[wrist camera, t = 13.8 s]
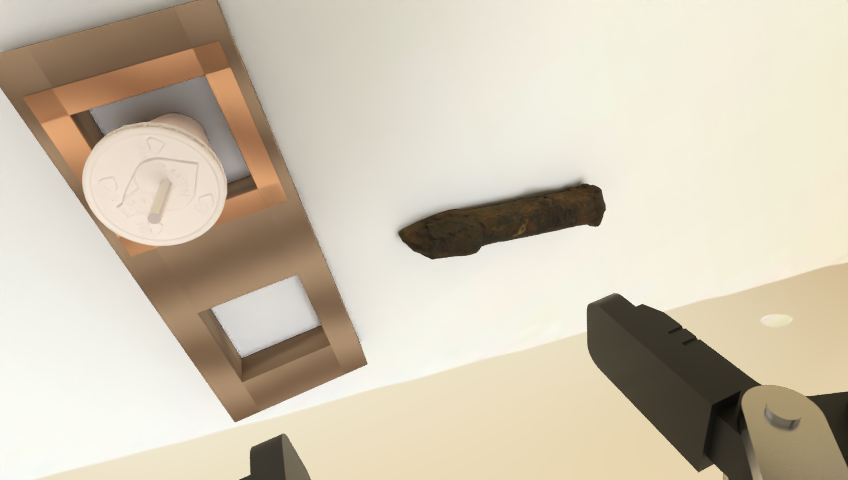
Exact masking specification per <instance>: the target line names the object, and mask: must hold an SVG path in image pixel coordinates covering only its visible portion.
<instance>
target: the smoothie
mask: <svg viewBox="0 0 848 480" xmlns="http://www.w3.org/2000/svg"><path fill="white" fill-rule="evenodd" d="M82 186H83V192H84V195H85V198H86V201H87V203H88V205H89V207H90V209H91V210H92V212H93V213H94V214H95V216H96V217H97V218H98V219H99V220H100V221H101V222H102V223H103V224H104V225H105V226H106V227H108V228H109V229H110V230H112V231H113V232H115V233H116V234H118V235H120V236H122V237H124V238H126V239H128V240H131V241H134V242H137V243H141V244H146V245H153V246H170V245H177V244H181V243H185V242H188V241H191V240H193V239H195V238H197V237H199V236H201V235H202V234H204V233H205V232H206V231H208V230H209V229H210V228H211V227H212V226H213V225H214V224H215V222H216V221H217V220H218V218H219V216H220V215H221V213H222V210H223V207H224V204H225V199H226V196H227V178H226V175H225V172H224V169H223V166H222V164H221V162H220V161H219V159H218V158H217V156H216V155H215V153H214V152H213V150H212V149H211V147H210V144H209V141H208V138H207V135H206V133H205V131H204V129H203V128H202V126H201V125H200V124H199V123H198V122H196V121H195V120H194V119H192V118H190V117H188V116H186V115H183V114H177V113H170V114H165V115H162V116H159V117H157V118H155V119H153V120H151V121H149V122H141V123H136V124H130V125H125V126H123V127H121V128H118V129H116V130H114V131H112V132H110V133H108V134H107V135H106V136H105V137H104V138H102V139H101V140H100V141H99V142H98V143H97V144H96V145H95V147H94V148H93V150H92V152H91V154H90V155H89V157H88V159H87V161H86V163H85V166H84V169H83V175H82Z"/></svg>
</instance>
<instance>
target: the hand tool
mask: <svg viewBox="0 0 848 480" xmlns="http://www.w3.org/2000/svg"><path fill="white" fill-rule="evenodd" d="M605 210H606V207H605V202H604V200H603V195H602V190H601V189H600V188H599V187H597V186H595V185H589V184H582V185H581V186H580V187H579V188H578V189H577V188H567V190H566V191H564V192H560V193H551V194H546V195H544V196H541V197H536V198H530V199H525V198H524V199H520V200H518V201H514V202H508V203H504V204H500V205H494V206H489V207H484V208H478V209H473V210H457V209H453V210H449V211H445V212H442V213H439V214H436V215H434V216H431V217H429V218H427V219H424V220H422V221H420V222H418V223H415V224H413V225H411V226H410V227H408V228H406V229H404V230H402V231H400V233H399V236H400V237H401V239H402V241H403V242H404V243H406V244H407V245H408V246H409V247H410V248H411V249H412V250H413V251H415V252H418V253H420V254H422V255H424V256H426V257H428V258H430V259H437V258H447V257H453V256H466V255H471V254H474V253H477V252H478V251H479V249H480V248H481V246H484V245H488V244H492V243H496V242H503V241H508V240H513V239H518V238H524V237H528V236H533V235H539V234H542V233H547V232H552V231H557V230H561V229H565V228H569V227H574V226H579V225H580V226H581V225H589V226H594V227H596V226H599V225H600V223H601V221H602V218H603V214H604V211H605Z"/></svg>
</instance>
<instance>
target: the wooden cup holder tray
mask: <svg viewBox="0 0 848 480" xmlns="http://www.w3.org/2000/svg"><path fill="white" fill-rule="evenodd" d="M203 75H205V76H206V78H207V80H208V82H209V84H210V87H211V89H212V91H213V93H214V95H215V97H216V99H217V102H218V104H219V106H220V108H221V110H222V112H223V115H224V117H225V119H226V121H227V123H228V125H229V127H230V130H231V132H232V134H233V136H234V138H235V140H236V143H237V145H238V147H239V149H240V151H241V153H242V155H243V158H244V160H245V162H246V164H247V166H248V168H249V171H250V173H251V175H252V176H249V177H246V178H243V179H240V180H237V181H234V182H231V183H229V184H227V196H226V199H225V204H224V207H223V210H222V213H221V215H220V216H219V218H218V220H217V221H216V222H215V224H214V225H213V226H212V227H211V228H210V229H209V230H208V231H206V232H205V233H204V234H202V235H201V236H199V237H197V238H195V239H193V240H191V241H188V242H185V243H181V244H177V245H170V246H153V245H146V244H141V243H137V242H134V241H131V240H128V239H126V238H124V237H122V236H120V235H118V234H116V233H115V232H113V231H112V230H110V229H109V228H108V227H106V226H105V225H104V224H103V223H102V222H101V221H100V220H99V219H98V218H97V217H96V216H95V214H94V213H93V212H92V210H91V209H90V207H89V205H88V203H87V201H86V198H85V195H84V192H83V186H82V175H83V169H84V166H85V163H86V161H87V159H88V157H89V155H90V154H91V152H92V150H93V148H94V147H95V145H96V144H97V143H98V142H99V141H100V140H101V139H102V138H104V135H103V134H102V132H101V130H100V129H99V127H98V125H97V124H96V122H95V121H94V119H93V117H92V116H91V114H90V112H89V111H88V110H89V109H92V108H96V107H99V106H102V105H106V104H109V103H112V102H116V101H119V100H123V99H126V98H129V97H133V96H136V95H139V94H143V93H146V92H149V91H153V90H156V89H159V88H163V87H166V86H170V85H173V84H176V83H180V82H183V81H186V80H190V79H193V78H196V77H200V76H203ZM0 88H1V89H2V90H3V92H4V93H5V95H6V96H7V98H8V99H9V100H10V102H11V103H12V105H13V106H14V108H15V109H16V110H17V112H18V113H19V115H20V116H21V118H22V119H23V120H24V122H25V123H26V125H27V126H28V128H29V129H30V130H31V132H32V133H33V135H34V136H35V138H36V139H37V140H38V142H39V143H40V145H41V146H42V148H43V149H44V150H45V152H46V153H47V155H48V156H49V158H50V159H51V160H52V162H53V163H54V165H55V166H56V168H57V169H58V170H59V172H60V173H61V175H62V176H63V178H64V179H65V180H66V182H67V183H68V185H69V186H70V188H71V189H72V190H73V192H74V193H75V195H76V196H77V198H78V199H79V200H80V202H81V203H82V205H83V206H84V208H85V209H86V210H87V212H88V213H89V215H90V216H91V218H92V219H93V220H94V222H95V223H96V225H97V226H98V227H99V229H100V230H101V232H102V233H103V235H104V236H105V237H106V239H107V240H108V242H109V243H110V245H111V246H112V247H113V249H114V250H115V252H116V253H117V255H118V256H119V257H120V259H121V260H122V262H123V263H124V265H125V266H126V267H127V269H128V270H129V272H130V273H131V275H132V276H133V277H134V279H135V280H136V282H137V283H138V285H139V286H140V287H141V289H142V290H143V292H144V293H145V295H146V296H147V297H148V299H149V300H150V302H151V303H152V305H153V306H154V307H155V309H156V310H157V312H158V313H159V315H160V316H161V317H162V319H163V320H164V322H165V323H166V325H167V326H168V327H169V329H170V330H171V332H172V333H173V335H174V336H175V337H176V339H177V340H178V342H179V343H180V345H181V346H182V347H183V349H184V350H185V352H186V353H187V355H188V356H189V357H190V359H191V360H192V362H193V363H194V365H195V366H196V367H197V369H198V370H199V372H200V373H201V375H202V376H203V377H204V379H205V380H206V382H207V383H208V385H209V386H210V387H211V389H212V390H213V392H214V393H215V395H216V396H217V397H218V399H219V400H220V402H221V403H222V405H223V406H224V407H225V409H226V410H227V412H228V413H229V415H230V416H231V417H232V419H233V420H234V422H237V421H240V420H242V419H244V418H246V417H249V416H251V415H253V414H256V413H258V412H260V411H262V410H265V409H267V408H269V407H271V406H274V405H276V404H278V403H281V402H283V401H285V400H287V399H290V398H292V397H294V396H296V395H299V394H301V393H303V392H306V391H308V390H310V389H312V388H315V387H317V386H319V385H321V384H324V383H326V382H328V381H331V380H333V379H335V378H337V377H340V376H342V375H344V374H346V373H349V372H351V371H353V370H356V369H358V368H360V367H362V366H365V365H367V361H366V358H365V356H364V353H363V350H362V347H361V344H360V342H359V340H358V337H357V335H356V332H355V330H354V327H353V325H352V323H351V320H350V318H349V315H348V313H347V311H346V308H345V306H344V303H343V301H342V299H341V296H340V294H339V291H338V289H337V287H336V284H335V282H334V279H333V277H332V275H331V272H330V270H329V267H328V265H327V263H326V260H325V258H324V255H323V253H322V251H321V248H320V246H319V243H318V241H317V239H316V236H315V234H314V231H313V229H312V227H311V224H310V222H309V219H308V217H307V215H306V212H305V210H304V207H303V205H302V203H301V200H300V198H299V195H298V193H297V191H296V188H295V186H294V183H293V181H292V179H291V176H290V174H289V171H288V169H287V167H286V164H285V162H284V159H283V157H282V155H281V152H280V150H279V147H278V145H277V143H276V140H275V138H274V135H273V133H272V131H271V128H270V126H269V123H268V121H267V119H266V116H265V114H264V111H263V109H262V107H261V104H260V102H259V99H258V97H257V95H256V92H255V90H254V87H253V85H252V83H251V80H250V78H249V75H248V73H247V70H246V68H245V66H244V63H243V61H242V58H241V56H240V54H239V51H238V49H237V46H236V44H235V42H234V39H233V37H232V34H231V32H230V30H229V27H228V25H227V22H226V20H225V18H224V15H223V13H222V10H221V8H220V6H219V3H218V1H217V0H197V1H193V2H189V3H185V4H182V5H178V6H174V7H170V8H167V9H163V10H159V11H155V12H152V13H148V14H144V15H140V16H137V17H133V18H129V19H126V20H122V21H118V22H114V23H111V24H107V25H103V26H99V27H96V28H92V29H88V30H84V31H81V32H77V33H73V34H70V35H66V36H62V37H58V38H55V39H51V40H47V41H43V42H40V43H36V44H32V45H28V46H25V47H21V48H17V49H13V50H10V51H6V52H2V53H0ZM296 274H298V275H299V278H300V280H301V282H302V284H303V286H304V288H305V291H306V293H307V295H308V297H309V299H310V301H311V303H312V306H313V308H314V310H315V312H316V314H317V316H318V319H319V321H320V323H321V325H322V326H319V327H317V328H314V329H312V330H310V331H307V332H305V333H302V334H300V335H298V336H295V337H293V338H290V339H288V340H285V341H283V342H281V343H278V344H276V345H273V346H271V347H269V348H266V349H264V350H261V351H259V352H257V353H254V354H252V355H249V356H247V357H245V358H242V359H241V357H240V355H239V354H238V352H237V350H236V349H235V347H234V346H233V344H232V342H231V341H230V339H229V338H228V336H227V334H226V333H225V331H224V329H223V328H222V326H221V325H220V323H219V321H218V320H217V318H216V316H215V315H214V313H213V312H212V310H211V308H212V307H214V306H217V305H220V304H222V303H225V302H227V301H230V300H232V299H235V298H238V297H240V296H243V295H245V294H248V293H250V292H253V291H255V290H258V289H261V288H263V287H266V286H268V285H271V284H273V283H276V282H279V281H281V280H284V279H286V278H289V277H291V276H294V275H296Z"/></svg>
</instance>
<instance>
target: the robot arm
mask: <svg viewBox="0 0 848 480" xmlns="http://www.w3.org/2000/svg"><path fill="white" fill-rule="evenodd" d="M587 344H588V350H589V353H590V355H591V357H592V359H593V361H594V363H595V364H596V365H597V367H598V368H599V369H600V370H601V371H602V372H603V373H604V374H605V375H606V376H607V377H608V378H609V379H610V380H611V382H613V384H614V385H615V386H616V387H617V388H618V389H619V390H620V391H621V392H622V393H623V394H624V395H625V396H626V397H627V398H628V399H629V400H630V401H631V402H632V403H633V404H634V406H635V407H636V408H637V409H638V410H639V411H640V412H641V413H642V414H643V415H644V416H645V417H646V418H647V419H648V420H649V421H650V422H651V423H652V424H653V425H654V426H655V427H656V428H657V429H658V430H659V432H660V433H661V434H662V435H663V436H664V437H665V438H666V439H667V440H668V441H669V442H670V443H671V444H672V445H673V446H674V447H675V448H676V449H677V450H678V451H679V452H680V453H681V455H682V456H684V458H685V459H686V460H687V461H688V462H689V463H690V464H691V465H692V466H693V467H694V468H695V469H696V470H697V471H698V472H700V471H701V470H704V469H705V468H707V467H709V466H711V465H713V464H715V465H716V466H717V467H718V468H719V469H720V470H721V471H722V472H723V480H848V392H840V393H832V394H824V395H816V396H804V395H802V394H800V393H798V392H796V391H794V390H791V389H788V388H785V387H780V386H775V385H761V384H759V383H757V382H756V381H754V380H753V379H752V378H750V377H749V376H748V375H746V374H745V373H744V372H742V371H741V370H740V369H738V368H737V367H736V366H734V365H733V364H732V363H731V362H729V361H728V360H727V359H725V358H724V357H722V356H721V355H720V354H719V353H717V352H716V351H715V350H713V349H712V348H711V347H709V346H708V345H707V344H705V343H704V342H703V341H701V340H697V338H696V336H695V335H693V334H692V333H691V332H689V331H688V330H687V329H683V328H682V326H681V325H680V324H679V323H677V322H676V321H675V320H673V319H672V318H671V317H669V316H668V315H667V314H665V313H664V312H661V311H659V310H656V309H654V308H651V307H649V306H646V305H644V304H641V305H639V306H637V307H635V306H634V305H633V304H632V303H630V302H629V301H628V300H626V299H625V298H624V297H623V296H621V295H619V294H616V293H614V294H611V295H609V296H607V297H604V298H602V299H600V300H597V301H595V302H593V303H590V304H589V305H588V307H587ZM250 472H251V475H249V476H247V477H244V478H242V479H240V480H311V479H310V477H309V474H308V472H307V470H306V468H305V466H304V465H303V463H302V461H301V459H300V458H299V456H298V454H297V452H296V451H295V449H294V447H293V446H292V444H291V442H290V441H289V439H288V437H287V436H286V435H285V434H281V435H279V436H277V437H274V438H272V439H270V440H268V441H265V442H263V443H260V444H258V445H256V446H253V447H252V448H251V451H250Z"/></svg>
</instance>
